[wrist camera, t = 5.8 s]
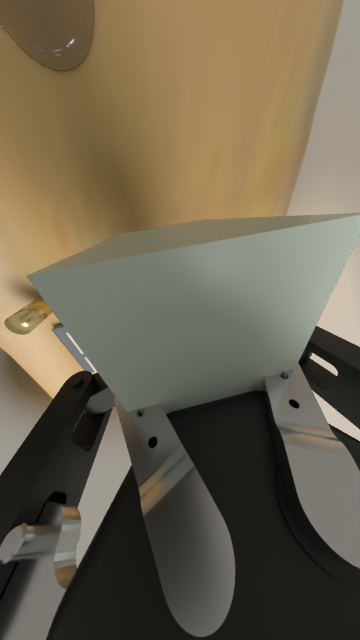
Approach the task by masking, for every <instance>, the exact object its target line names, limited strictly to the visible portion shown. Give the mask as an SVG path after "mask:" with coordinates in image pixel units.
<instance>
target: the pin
mask: <svg viewBox="0 0 360 640" xmlns="http://www.w3.org/2000/svg"><path fill="white" fill-rule="evenodd" d="M52 312H53V311H52V310H51V309H50V307H49V306H48V305H47V303H46V302H45V301H44V299H43V298H42V297H39V298H38V299H36V300H34V301H33V302H31V303H30V304H28V305H27V306H25V307H24V308H22V309H21V310H19V311H18V312H16V313H15V314H13V315H12V316H10V317H8V318H7V319H6V320H5V322H4V324H5V326H6V327H7V329H9V330H10V331H12V332H14V333H16V334H28V333H30V332H31V331H32V330H33V329H34V328H35V327H36V326H38V325H39V324H40V323H41V322H42V321H43V320H44V319H45V318H47V317H48V316H49V315H50V314H51V313H52Z"/></svg>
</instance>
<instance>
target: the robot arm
mask: <svg viewBox="0 0 360 640" xmlns="http://www.w3.org/2000/svg"><path fill="white" fill-rule="evenodd" d="M0 23H1V24H2V26H3V27H4V28H5V30H6V31H7V32H8V33H9V35H10V36H11V37H12V38H13V39H14V41H15V42H16V43H17V44H18V45H19V46H20V47H21V48H22V49H23V50H24V51H25V52H26V53H27V54H28V55H29V56H30V57H31V58H33V59H34V60H36V61H37V62H39V63H40V64H42V65H43V66H46V67H48V68H51V69H54V70H61V71H66V70H70V69H73V68H75V67H76V66H77V65H79V64H80V63H81V62H82V61H83V59H84V58H85V56H86V54H87V53H88V50H89V47H90V44H91V41H92V35H93V27H94V4H93V0H0ZM312 353H314V354H316V355H318V356H319V357H321V358H322V359H324V360H325V361H327V362H328V363H330V364H332V365H333V366H334V367H335V368H336V369H337V371H338V375H337V376H335V375H334V374H332V373H331V372H330V371H328V370H327V369H325V368H324V367H322V366H321V365H319V364H318V363H316V362H315V361H313V360H312V359H310V357H311V355H312ZM311 389H312V390H313V391H314V392H315V393H316V394H318V395H319V396H320V397H321V398H323V399H324V400H325V401H326V402H327V403H329V404H330V405H331V406H332V407H333V408H335V409H336V410H337V411H338V412H339V413H341V414H342V415H343V416H344V417H345V418H347V419H348V420H349V421H350V422H351V423H353V424H354V425H355V426H356V427H358V428H359V429H360V347H359V346H357V345H355V344H352V343H350V342H348V341H346V340H344V339H342V338H340V337H338V336H336V335H334V334H332V333H330V332H328V331H325V330H324V329H322V328H320V327H318V326H316V327H315V329H314V331H313V333H312V335H311V337H310V339H309V341H308V343H307V345H306V347H305V349H304V351H303V353H302V355H301V357H300V360H299V362H298V364H297V366H296V368H295V370H291V371H287V372H283V374H282V377H280V375H279V374H275V375H271V376H267V377H264V380H263V383H262V390H263V391H256V390H254V391H250V392H246V393H243V394H239V395H235V396H231V397H227V398H223V399H219V400H215V401H212V402H208V403H204V404H200V405H196V406H192V407H188V408H185V409H181V410H177V411H173V412H170V413H169V414H167V415H166V414H165V412H164V410H163V408H162V406H161V405H160V404H156V405H152V406H149V407H145V408H143V409H144V411H145V412H144V414H143V415H142V413H141V412H140V410H139V409H137V410H133V411H129V412H127V411H126V410H125V409H124V407H123V406H122V404H121V403H120V402H119V400H118V399H117V398H116V396H115V395H114V394H113V392H112V391H111V390H110V388H109V387H108V386H107V384H106V383H105V382H104V380H103V379H102V377H101V376H100V375H99V373H98V372H97V373H95V374H93V375H92V373H91V372H90V371H81V372H78V373H76V374H74V375H72V376H71V377H70V378H69V379H68V380H67V381H66V382H65V383H64V384H63V386H62V387H61V389H60V390H59V392H58V393H57V395H56V396H55V397H54V399H53V400H52V402H51V403H50V405H49V406H48V408H47V409H46V411H45V412H44V413H43V415H42V416H41V418H40V419H39V420H38V422H37V423H36V425H35V426H34V428H33V429H32V430H31V432H30V433H29V435H28V436H27V438H26V439H25V441H24V442H23V443H22V445H21V446H20V448H19V449H18V451H17V452H16V453H15V455H14V456H13V458H12V459H11V461H10V462H9V464H8V465H7V466H6V468H5V469H4V471H3V472H2V474H1V475H0V640H360V441H358V440H357V439H355V438H353V437H351V436H349V435H348V434H346V433H344V432H343V431H341V430H339V429H337V428H335V427H333V426H331V425H330V424H328V422H327V420H326V419H325V416H324V414H323V412H322V410H321V408H320V406H319V404H318V402H317V400H316V398H315V396H314V394H313V392H312V390H311ZM114 406H116V409H117V412H118V416H119V419H120V423H121V427H122V430H123V434H124V437H125V441H126V444H127V448H128V452H129V455H130V459H131V463H132V466H131V467H130V469H129V471H128V473H127V475H126V477H125V479H124V481H123V483H122V484H121V486H120V488H119V490H118V492H117V494H116V496H115V498H114V500H113V502H112V503H111V505H110V507H109V509H108V511H107V513H106V515H105V517H104V519H103V521H102V522H101V524H100V527H99V528H98V530H97V532H96V534H95V536H94V538H93V540H92V541H91V544H90V545H89V547H88V549H87V551H86V553H85V555H84V557H83V559H82V561H81V563H80V565H79V566H78V568H77V566H76V547H77V543H78V541H79V538H80V528H81V516H80V512H79V510H78V509H77V508H78V504H79V502H80V499H81V496H82V493H83V490H84V488H85V485H86V482H87V479H88V476H89V474H90V471H91V468H92V465H93V462H94V459H95V457H96V454H97V451H98V448H99V445H100V442H101V440H102V437H103V434H104V431H105V428H106V425H107V423H108V420H109V417H110V414H111V411H112V409H113V407H114ZM82 413H83V414H82ZM81 415H82V416H81ZM80 417H81V418H80ZM79 419H80V420H79ZM78 421H79V422H78ZM77 423H78V424H77ZM76 425H77V426H76ZM75 427H76V428H75ZM74 429H75V430H74ZM73 431H74V432H73Z"/></svg>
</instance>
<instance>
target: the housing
mask: <svg viewBox="0 0 360 640" xmlns="http://www.w3.org/2000/svg"><path fill="white" fill-rule="evenodd" d="M359 236H360V213H352V214H327V215H303V216H277V217H252V218H227V219H204V220H199V221H193V222H187V223H181V224H175V225H170V226H164V227H158V228H152V229H146V230H140V231H135V232H129V233H123V234H120V235H117V236H115V237H113V238H111V239H108V240H106V241H104V242H102V243H99V244H97V245H95V246H93V247H90V248H88V249H86V250H84V251H81V252H79V253H77V254H75V255H72V256H70V257H68V258H65V259H63V260H61V261H59V262H56V263H54V264H52V265H50V266H47V267H45V268H43V269H41V270H38V271H36V272H34V273H32V274H29V275H27V278H28V279H29V280H30V282H31V283H32V284H33V286H34V287H35V288H36V290H37V291H38V292H39V294H40V295H41V297H42V298H43V299H44V301H45V302H46V303H47V305H48V306H49V307H50V309H51V310H52V311H53V313H54V314H55V315H56V317H57V318H58V319H59V321H60V322H61V323H62V325H63V326H64V328H65V329H66V330H67V332H68V333H69V334H70V336H71V337H72V338H73V340H74V341H75V342H76V344H77V345H78V346H79V348H80V349H81V350H82V352H83V353H84V355H85V356H86V357H87V359H88V360H89V361H90V363H91V364H92V365H93V367H94V368H95V369H96V371H97V372H98V373H99V375H100V376H101V377H102V379H103V380H104V382H105V383H106V384H107V386H108V387H109V388H110V390H111V391H112V392H113V394H114V395H115V396H116V398H117V399H118V400H119V402H120V403H121V404H122V406H123V407H124V409H125V410H126V411H127V412H129V411H133V410H137V409H139V410H140V412H141V413H142V415H143V414H144V412H145V411H144V409H143V408H145V407H149V406H152V405H156V404H160V405H161V406H162V408H163V410H164V412H165V414H166V415H167V414H169V413H170V412H173V411H177V410H181V409H185V408H188V407H192V406H196V405H200V404H204V403H208V402H212V401H215V400H219V399H223V398H227V397H231V396H235V395H239V394H243V393H246V392H250V391H254V390H256V391H263V390H262V383H263V380H264V377H267V376H271V375H275V374H279V375H280V377H282V374H283V372H287V371H291V370H295V368H296V366H297V364H298V362H299V360H300V357H301V355H302V353H303V351H304V349H305V347H306V345H307V343H308V341H309V339H310V337H311V335H312V333H313V331H314V329H315V327H316V325H317V323H318V321H319V318H320V316H321V314H322V312H323V310H324V308H325V306H326V304H327V302H328V300H329V298H330V296H331V294H332V292H333V290H334V287H335V286H336V283H337V281H338V279H339V277H340V275H341V273H342V271H343V269H344V267H345V265H346V263H347V261H348V259H349V257H350V255H351V253H352V250H353V249H354V247H355V244H356V242H357V240H358V238H359Z"/></svg>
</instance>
